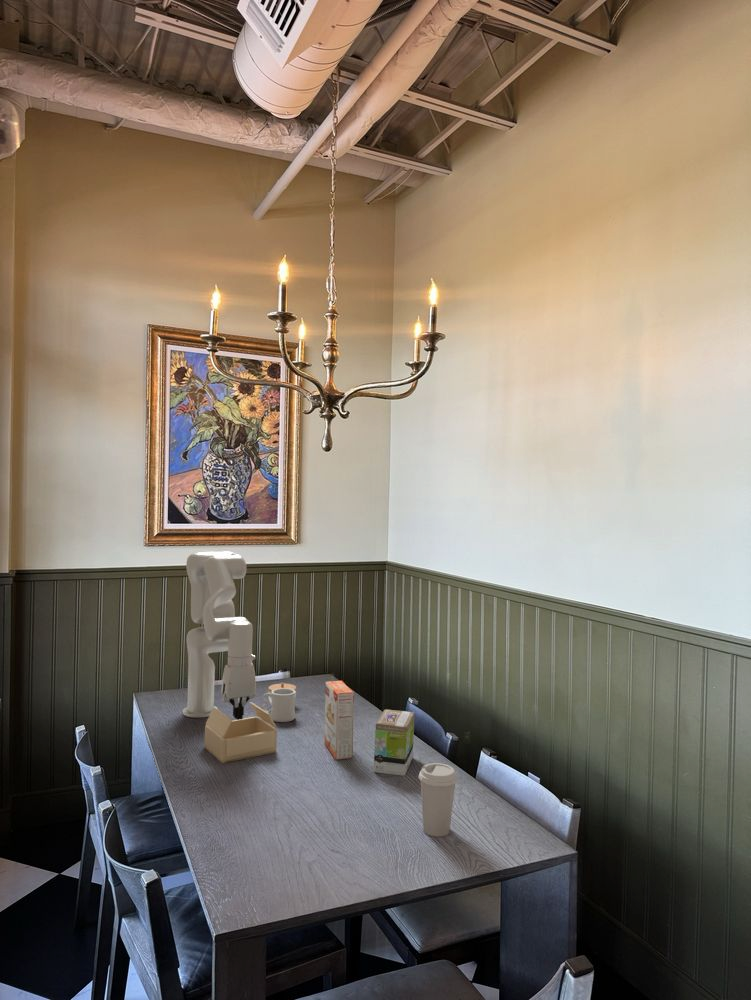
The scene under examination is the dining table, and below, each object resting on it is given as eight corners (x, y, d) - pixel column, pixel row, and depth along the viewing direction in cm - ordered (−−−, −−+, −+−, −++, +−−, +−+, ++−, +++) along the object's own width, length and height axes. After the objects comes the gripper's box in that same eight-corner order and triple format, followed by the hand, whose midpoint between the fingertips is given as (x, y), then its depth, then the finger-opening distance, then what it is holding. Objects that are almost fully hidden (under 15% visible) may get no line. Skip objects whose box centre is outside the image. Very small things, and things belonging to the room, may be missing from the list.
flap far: (275, 727, 213) (276, 726, 213) (268, 714, 211) (269, 713, 211) (256, 715, 224) (257, 714, 225) (249, 702, 223) (250, 701, 223)
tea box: (406, 776, 197) (407, 726, 197) (372, 773, 199) (374, 723, 199) (413, 757, 211) (414, 710, 211) (382, 754, 213) (383, 707, 213)
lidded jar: (262, 709, 254) (263, 685, 254) (275, 701, 264) (275, 678, 264) (288, 713, 251) (289, 688, 251) (300, 705, 261) (300, 680, 261)
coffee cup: (431, 817, 172) (433, 758, 172) (463, 829, 166) (465, 769, 166) (409, 830, 165) (411, 769, 164) (441, 844, 158) (443, 781, 158)
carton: (203, 746, 215) (204, 725, 215) (255, 736, 225) (256, 716, 225) (223, 763, 202) (223, 740, 202) (277, 752, 212) (277, 730, 212)
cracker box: (323, 744, 220) (324, 680, 220) (340, 742, 222) (342, 679, 222) (334, 760, 207) (336, 693, 207) (353, 758, 209) (355, 691, 209)
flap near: (206, 724, 214) (205, 723, 214) (215, 707, 216) (214, 707, 216) (223, 737, 203) (222, 737, 203) (232, 720, 204) (231, 720, 204)
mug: (297, 715, 248) (298, 688, 248) (292, 723, 239) (293, 695, 239) (265, 713, 250) (265, 686, 250) (258, 721, 241) (259, 693, 241)
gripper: (256, 655, 220) (254, 711, 220) (212, 660, 212) (211, 718, 212) (266, 660, 214) (264, 717, 214) (222, 666, 206) (220, 725, 206)
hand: (238, 718), depth 213 cm, fingers closed
